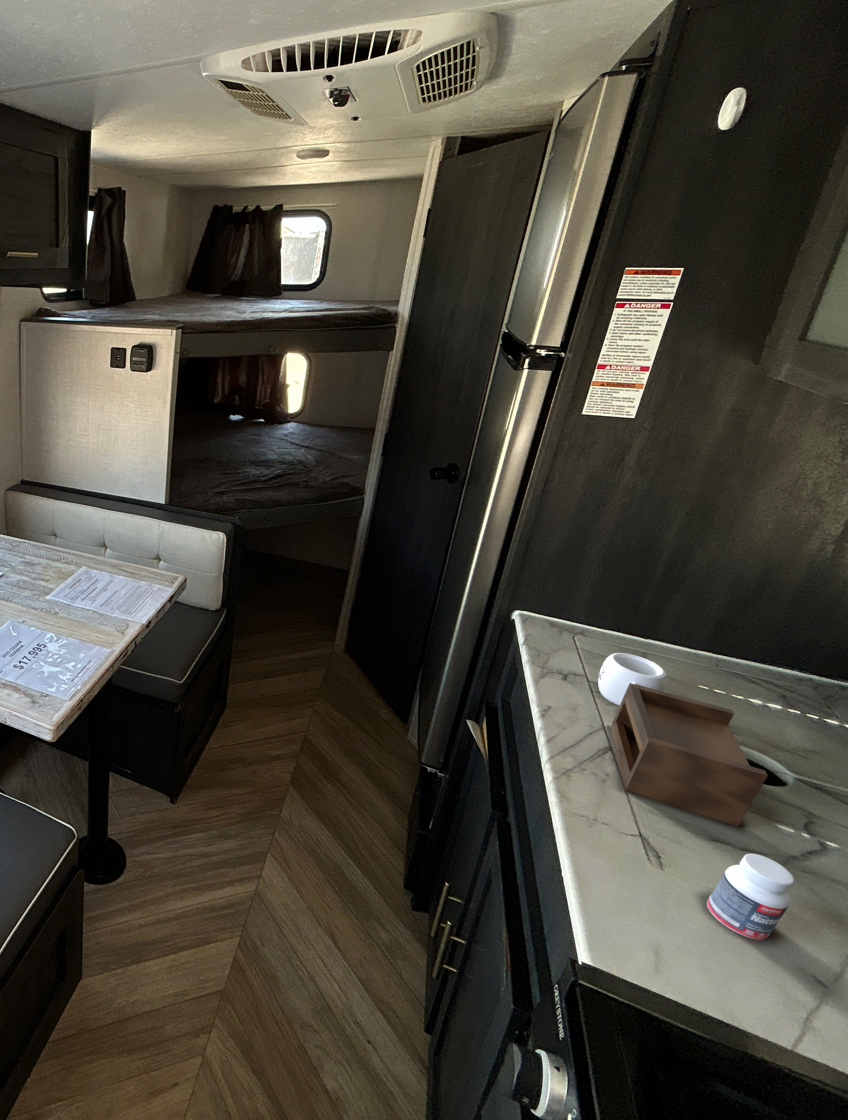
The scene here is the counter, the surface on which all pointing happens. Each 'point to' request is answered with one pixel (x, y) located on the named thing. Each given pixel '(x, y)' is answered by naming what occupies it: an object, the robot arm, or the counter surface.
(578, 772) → the counter surface
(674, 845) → the counter surface
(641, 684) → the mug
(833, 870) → the counter surface
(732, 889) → the pill bottle
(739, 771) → the box
